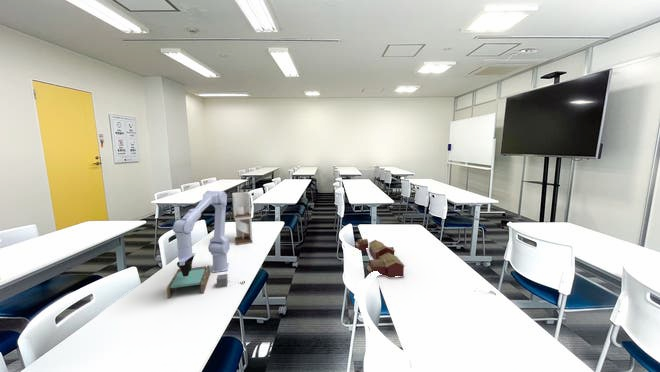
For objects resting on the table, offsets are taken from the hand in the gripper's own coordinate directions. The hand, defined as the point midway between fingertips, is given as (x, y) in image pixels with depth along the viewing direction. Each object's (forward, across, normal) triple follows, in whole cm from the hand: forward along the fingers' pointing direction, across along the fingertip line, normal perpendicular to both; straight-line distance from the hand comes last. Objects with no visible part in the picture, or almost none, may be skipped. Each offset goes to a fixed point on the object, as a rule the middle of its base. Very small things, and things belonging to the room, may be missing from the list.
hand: (187, 273), depth 122 cm
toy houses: (+9, +6, -101) cm, 101 cm away
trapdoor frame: (+9, +6, 0) cm, 11 cm away
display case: (+9, +62, -23) cm, 66 cm away
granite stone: (+9, +2, -15) cm, 17 cm away
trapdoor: (+6, +5, 0) cm, 8 cm away
